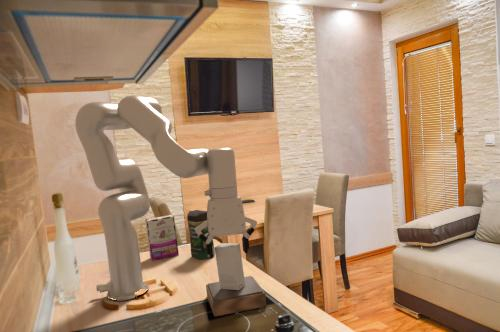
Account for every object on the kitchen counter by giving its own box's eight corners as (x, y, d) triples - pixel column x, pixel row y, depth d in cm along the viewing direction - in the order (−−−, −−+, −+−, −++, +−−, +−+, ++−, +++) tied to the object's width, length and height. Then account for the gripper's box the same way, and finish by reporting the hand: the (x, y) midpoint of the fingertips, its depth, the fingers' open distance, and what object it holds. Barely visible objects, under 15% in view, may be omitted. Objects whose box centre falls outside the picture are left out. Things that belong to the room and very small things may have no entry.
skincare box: (245, 285, 111) (241, 242, 110) (238, 291, 107) (233, 247, 106) (226, 283, 114) (222, 242, 113) (218, 289, 110) (214, 246, 109)
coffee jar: (188, 257, 158) (183, 211, 157) (204, 252, 164) (199, 207, 162) (202, 261, 151) (196, 213, 150) (218, 255, 156) (213, 209, 155)
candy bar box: (176, 252, 167) (171, 214, 166) (179, 255, 163) (174, 215, 162) (149, 258, 163) (144, 218, 162) (151, 261, 158) (146, 220, 157)
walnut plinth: (214, 316, 102) (212, 301, 102) (207, 296, 116) (205, 283, 116) (266, 306, 105) (264, 291, 105) (253, 288, 119) (252, 275, 119)
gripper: (193, 198, 103) (198, 262, 104) (257, 191, 107) (262, 253, 108) (190, 194, 110) (195, 255, 112) (251, 188, 114) (255, 246, 116)
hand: (228, 254), depth 110 cm, fingers open, 9 cm apart
